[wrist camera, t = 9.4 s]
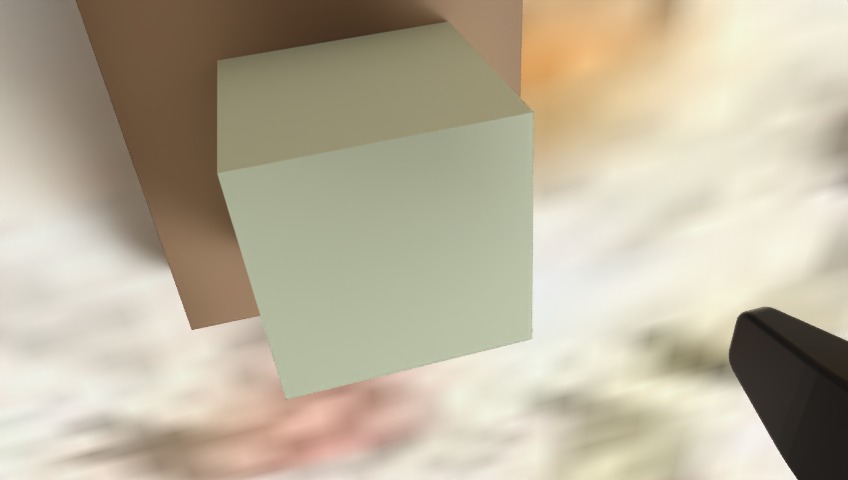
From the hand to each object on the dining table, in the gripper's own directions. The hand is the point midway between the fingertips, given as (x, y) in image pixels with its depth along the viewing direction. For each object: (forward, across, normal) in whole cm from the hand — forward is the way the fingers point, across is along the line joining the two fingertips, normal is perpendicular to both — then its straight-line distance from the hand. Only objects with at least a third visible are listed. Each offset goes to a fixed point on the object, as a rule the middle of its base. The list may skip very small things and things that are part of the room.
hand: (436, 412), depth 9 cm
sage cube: (+8, 0, 0) cm, 8 cm away
